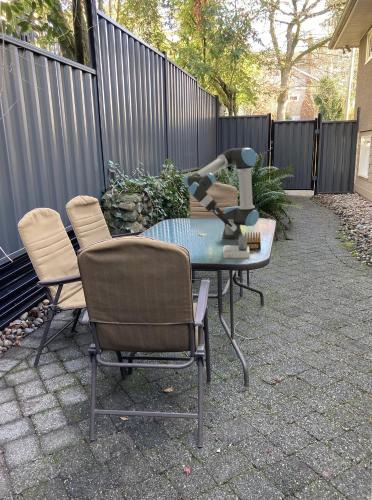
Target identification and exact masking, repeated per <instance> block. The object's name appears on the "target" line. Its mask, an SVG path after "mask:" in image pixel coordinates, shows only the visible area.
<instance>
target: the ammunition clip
mask: <svg viewBox="0 0 372 500" xmlns="http://www.w3.org/2000/svg"><path fill="white" fill-rule="evenodd" d="M244 235H247V246H249V251H260V250H262V245H261V244H262V243H261V240H262V239H261V232H260V231H256V232H255V231H253V232H252V231H251V232H249V231H248V232H244Z"/></svg>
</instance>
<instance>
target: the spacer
mask: <svg viewBox="0 0 372 500" xmlns="http://www.w3.org/2000/svg"><path fill="white" fill-rule="evenodd" d="M228 220H229V221H230V222H231V223H232V224H233V220H231V219H228ZM224 228H225V235H233V230H232V229H231V228H230V227H229V226H228V225H227V224H226V225H225V224H224Z"/></svg>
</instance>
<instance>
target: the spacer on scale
mask: <svg viewBox="0 0 372 500" xmlns="http://www.w3.org/2000/svg"><path fill="white" fill-rule="evenodd" d="M247 237H248V234H247V235H245V234H243V235H239V239H238V246H239V250H240V251H246V250H247Z"/></svg>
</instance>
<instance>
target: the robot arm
mask: <svg viewBox="0 0 372 500" xmlns="http://www.w3.org/2000/svg"><path fill="white" fill-rule="evenodd" d="M256 162H257V154H256V152H255V151H254V149H253V148H250V147H238V148H230V149H228V150H226V151H224V152H222V153H221V154H219V155H218V156H217V157H216V158H215V159H214V160H213V161H212V162H210V163H209V164H206V166H204V167H202V168H201V169H200V170H198V171H196V172H195V173H194V174H192V175H186V176H185V177H184V178H183V185H184V186H185V187H186V188H187V191H188V192H189V194H190V195H191V196H192V198H194V199H195V200H196V201H197V202H198V203H199V204H200V206H202V207H205V208H204V209H205V210H206V211H207V212H211V211H213V212H212V213H213V214H214V215H216V216H217V218H219V219H220V220H221V221H222V222H223V223H224V226H225V225H226V224H227V225H228V226H229V227H230V228H231V229H232V230H233V235H225V227H223V232H222V233H221V234H222V235H221V236H222V237H221V238H222V239H224V240H239V235H244V234H243V231H242V229H241V226H245V227H254V226H255V225H256V224H257V223H258V221H259V218H260V217H259V216H260V214H259V211H258V210H257V209H256V208H255V207H256V206H255V205H254V204H253V185H252V184H253V183H252V170H253V168H254V165H255V164H256ZM232 166H235V170H236V171H237V172H238V185H239V188H238V189H239V202H240V203H239V205H236V206H228V207H225V208H224V211H222V210H221V209H220V207H217V204H218V202H217V201H216V200H215V199H213V197H212V196H211V195H210V194H209V193H208V190H210V188H211V187H213V185H214V184H215V183H216V180H217V179H216V177H215V175H216V173H218V172H219V171H221V170H222V169H226V168H228V167H232ZM228 219H231V220H233V224H232V223H231V222H230V221H229V220H228Z"/></svg>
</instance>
